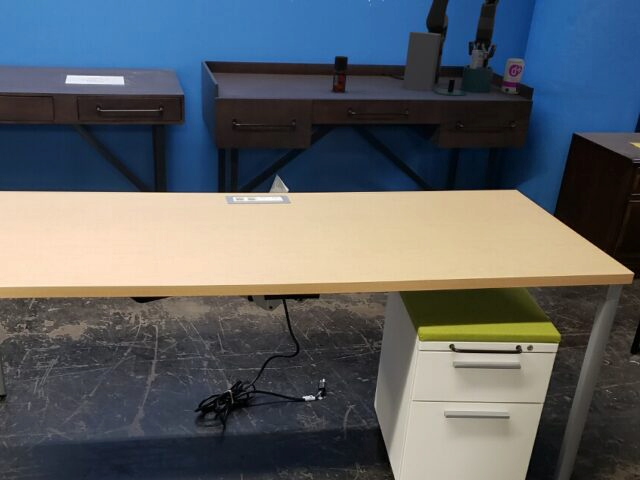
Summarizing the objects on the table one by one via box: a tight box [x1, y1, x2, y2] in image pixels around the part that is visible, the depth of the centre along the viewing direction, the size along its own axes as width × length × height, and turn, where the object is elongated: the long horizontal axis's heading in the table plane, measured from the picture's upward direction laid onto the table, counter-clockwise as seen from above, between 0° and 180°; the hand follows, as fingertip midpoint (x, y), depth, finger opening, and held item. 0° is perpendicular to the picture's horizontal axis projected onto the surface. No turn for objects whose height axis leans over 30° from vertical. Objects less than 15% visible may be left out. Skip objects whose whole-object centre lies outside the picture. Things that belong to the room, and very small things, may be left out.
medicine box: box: [469, 49, 491, 69], centre depth 368 cm, size 8×4×9 cm, turn 118°
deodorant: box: [331, 55, 349, 94], centre depth 359 cm, size 6×6×15 cm
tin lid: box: [434, 78, 467, 97], centre depth 365 cm, size 15×15×7 cm
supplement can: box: [500, 57, 525, 95], centre depth 371 cm, size 8×8×15 cm
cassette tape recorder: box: [402, 30, 441, 92], centre depth 368 cm, size 14×6×25 cm, turn 62°
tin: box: [460, 64, 495, 94], centre depth 372 cm, size 14×14×11 cm
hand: (478, 66), depth 369 cm, fingers closed on medicine box, 5 cm apart
